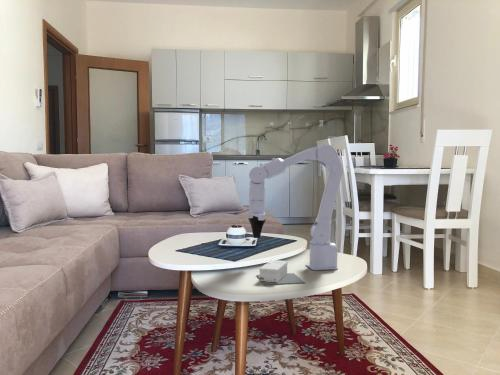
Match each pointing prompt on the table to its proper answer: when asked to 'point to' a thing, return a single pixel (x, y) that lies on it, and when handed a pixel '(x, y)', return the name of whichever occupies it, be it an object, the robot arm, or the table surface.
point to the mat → (285, 280)
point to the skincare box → (273, 271)
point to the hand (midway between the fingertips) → (256, 237)
